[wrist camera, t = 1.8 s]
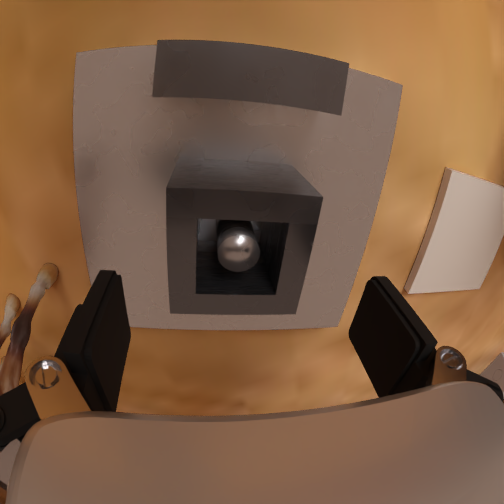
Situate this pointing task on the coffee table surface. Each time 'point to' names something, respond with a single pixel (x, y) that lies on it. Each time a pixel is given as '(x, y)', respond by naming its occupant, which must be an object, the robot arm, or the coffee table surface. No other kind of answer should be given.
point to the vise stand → (228, 148)
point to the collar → (248, 209)
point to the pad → (459, 235)
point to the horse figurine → (21, 328)
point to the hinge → (496, 371)
